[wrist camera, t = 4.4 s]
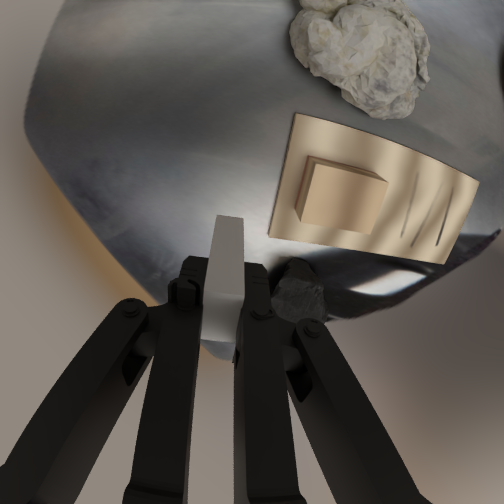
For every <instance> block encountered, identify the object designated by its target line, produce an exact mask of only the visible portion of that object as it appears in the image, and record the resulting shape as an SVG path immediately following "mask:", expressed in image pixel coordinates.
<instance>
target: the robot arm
mask: <svg viewBox="0 0 504 504" xmlns="http://www.w3.org/2000/svg"><path fill="white" fill-rule="evenodd" d="M200 339H206V340H215V341H224V342H234V343H235V340H236V347H235V352H234V356H233V361H232V363H234V504H307V502H306V500H305V498H304V497H303V496H302V495H301V494H300V491H299V486H298V477H297V468H296V459H295V450H294V441H293V433H292V425H291V416H290V408H289V402H288V401H289V400H288V393H287V390H288V392H289V395H290V397H291V399H292V402H293V404H294V407H295V409H296V411H297V414H298V416H299V418H300V421H301V423H302V426H303V428H304V430H305V433H306V435H307V437H308V440H309V442H310V444H311V447H312V449H313V451H314V454H315V456H316V458H317V461H318V463H319V465H320V467H321V469H322V472H323V474H324V477H325V479H326V481H327V483H328V486H329V487H330V490H331V492H332V494H333V496H334V499H335V501H336V503H337V504H432V503H431V502H429V501H428V500H427V499H426V498H424V497H423V496H422V495H421V494H420V493H419V491H418V489H417V487H416V485H415V483H414V481H413V479H412V477H411V476H410V474H409V472H408V470H407V468H406V466H405V464H404V462H403V460H402V458H401V457H400V455H399V453H398V451H397V449H396V448H395V446H394V444H393V442H392V440H391V438H390V436H389V435H388V433H387V431H386V429H385V427H384V426H383V424H382V422H381V420H380V418H379V417H378V415H377V413H376V411H375V410H374V408H373V406H372V404H371V402H370V401H369V399H368V397H367V395H366V394H365V392H364V390H363V389H362V387H361V385H360V383H359V382H358V380H357V378H356V376H355V375H354V373H353V371H352V369H351V368H350V366H349V364H348V363H347V361H346V359H345V358H344V356H343V354H342V353H341V351H340V349H339V347H338V346H337V344H336V342H335V341H334V339H333V337H332V336H331V334H330V332H329V331H328V329H327V327H326V326H325V325H324V324H323V323H322V322H320V321H319V320H316V319H313V318H304V319H301V320H299V321H298V322H297V324H296V323H293V322H290V321H287V320H285V319H282V318H281V317H279V316H278V315H277V313H276V311H275V309H274V308H273V307H272V304H271V297H270V289H269V282H268V274H267V270H266V269H265V267H264V266H263V265H262V264H258V263H249V262H244V226H243V218H237V217H230V216H222V215H217V217H216V223H215V228H214V233H213V239H212V244H211V250H210V256H209V258H204V257H197V256H188V257H187V258H186V259H185V260H184V261H183V264H182V267H181V271H180V275H179V278H175V279H174V280H172V281H170V283H169V284H168V302H167V303H166V304H163V305H160V306H153V307H147V306H146V304H145V303H144V302H143V301H141V300H139V299H135V298H127V299H124V300H121V301H120V302H119V303H117V304H116V305H115V307H114V308H113V309H112V310H111V311H110V313H109V314H108V315H107V316H106V317H105V319H104V320H103V321H102V323H101V324H100V325H99V326H98V327H97V329H96V330H95V331H94V333H93V334H92V335H91V336H90V338H89V339H88V340H87V341H86V343H85V344H84V345H83V346H82V348H81V349H80V350H79V352H78V353H77V354H76V356H75V357H74V358H73V360H72V361H71V362H70V364H69V365H68V366H67V368H66V369H65V370H64V372H63V373H62V375H61V376H60V377H59V379H58V380H57V381H56V383H55V384H54V386H53V387H52V389H51V390H50V391H49V393H48V394H47V396H46V397H45V399H44V400H43V402H42V403H41V405H40V406H39V408H38V409H37V411H36V412H35V414H34V415H33V417H32V418H31V420H30V421H29V423H28V425H27V426H26V428H25V429H24V431H23V433H22V434H21V436H20V438H19V439H18V441H17V443H16V444H15V446H14V448H13V450H12V452H11V453H10V455H9V457H8V458H7V460H6V462H5V464H3V465H2V466H1V467H0V504H74V502H75V501H76V499H77V497H78V495H79V494H80V492H81V490H82V488H83V485H84V484H85V481H86V480H87V478H88V475H89V473H90V472H91V470H92V468H93V466H94V464H95V462H96V460H97V458H98V456H99V454H100V452H101V450H102V448H103V446H104V444H105V442H106V441H107V439H108V437H109V435H110V433H111V431H112V429H113V427H114V426H115V424H116V422H117V420H118V418H119V416H120V414H121V413H122V411H123V409H124V407H125V405H126V403H127V402H128V400H129V398H130V396H131V394H132V393H133V391H134V389H135V387H136V385H137V384H138V382H139V380H140V378H141V377H142V375H143V373H144V371H145V370H146V368H147V366H148V364H149V363H150V361H151V359H152V357H153V356H154V358H153V363H152V367H151V371H150V375H149V380H148V385H147V389H146V394H145V398H144V403H143V408H142V413H141V418H140V424H139V429H138V435H137V440H136V446H135V453H134V459H133V466H132V473H131V479H130V482H129V484H128V485H127V487H126V489H125V492H124V496H123V501H122V504H187V503H188V502H187V500H188V476H189V460H190V445H191V431H192V420H193V409H194V397H195V387H196V377H197V369H198V360H199V359H198V358H199V350H200Z"/></svg>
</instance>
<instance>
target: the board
mask: <svg viewBox="0 0 504 504" xmlns="http://www.w3.org/2000/svg"><path fill="white" fill-rule="evenodd" d="M307 155H309V156H314V157H318V158H322V159H327V160H331V161H335V162H339V163H343V164H347V165H350V166H354V167H358V168H361V169H365V170H368V171H372V172H375V173H376V174H378V175H379V176H381V177H382V178H383V179H385V180H386V181H387V182H389V185H388V188H387V191H386V194H385V197H384V200H383V202H382V205H381V208H380V211H379V213H378V216H377V219H376V221H375V224H374V226H373V229H372V232H371V234H370V235H369V234H364V233H359V232H353V231H348V230H342V229H336V228H331V227H325V226H319V225H313V224H307V223H301V222H300V221H299V218H298V216H297V213H296V211H295V209H294V207H295V203H296V199H297V195H298V191H299V187H300V183H301V179H302V175H303V171H304V167H305V163H306V159H307ZM478 185H479V182H478V181H477V180H475V179H473V178H471V177H469V176H467V175H466V174H464V173H462V172H460V171H458V170H456V169H454V168H452V167H450V166H448V165H446V164H444V163H442V162H439V161H437V160H435V159H433V158H431V157H429V156H426V155H424V154H422V153H419V152H417V151H415V150H412V149H410V148H407V147H405V146H402V145H400V144H397V143H395V142H392V141H389V140H387V139H384V138H381V137H378V136H375V135H372V134H369V133H366V132H363V131H360V130H357V129H354V128H351V127H348V126H344V125H341V124H337V123H334V122H330V121H327V120H323V119H319V118H315V117H311V116H307V115H303V114H298V113H295V116H294V120H293V125H292V130H291V134H290V139H289V144H288V148H287V153H286V157H285V162H284V166H283V171H282V175H281V180H280V184H279V189H278V193H277V198H276V202H275V206H274V211H273V215H272V220H271V224H270V228H269V233H268V235H269V237H270V238H278V239H285V240H292V241H299V242H305V243H312V244H319V245H326V246H333V247H339V248H346V249H352V250H359V251H365V252H372V253H378V254H384V255H390V256H397V257H403V258H409V259H415V260H421V261H427V262H433V263H439V264H444V263H445V261H446V259H447V257H448V255H449V253H450V251H451V249H452V247H453V245H454V243H455V241H456V239H457V237H458V235H459V233H460V230H461V228H462V226H463V224H464V221H465V219H466V217H467V214H468V212H469V209H470V207H471V204H472V202H473V199H474V196H475V194H476V191H477V188H478Z"/></svg>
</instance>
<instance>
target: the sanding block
mask: <svg viewBox="0 0 504 504" xmlns="http://www.w3.org/2000/svg"><path fill="white" fill-rule="evenodd" d="M388 185H389V182H387V181H386V180H385V179H383V178H382V177H381V176H379V175H378V174H376V173H375V172H372V171H368V170H365V169H361V168H358V167H354V166H350V165H347V164H343V163H339V162H335V161H331V160H327V159H322V158H318V157H314V156H309V155H307V159H306V163H305V167H304V171H303V175H302V179H301V183H300V187H299V191H298V195H297V199H296V203H295V207H294V209H295V211H296V213H297V216H298V218H299V221H300V222H301V223H307V224H313V225H319V226H325V227H331V228H336V229H342V230H348V231H353V232H359V233H364V234H369V235H370V234H371V232H372V229H373V226H374V224H375V221H376V219H377V216H378V213H379V211H380V208H381V205H382V202H383V200H384V197H385V194H386V191H387V188H388Z"/></svg>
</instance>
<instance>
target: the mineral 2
mask: <svg viewBox="0 0 504 504" xmlns="http://www.w3.org/2000/svg"><path fill="white" fill-rule="evenodd" d="M299 2H300V5H301V6H302V7H303V9H302V10H301V11H300V12H299V13H298V14H297V15H296V18H295V20H294V21H293V22H292V23H291V28H290V31H289V34H290V36H291V40H290V41H291V45H292V47H293V49H294V54H295V56H296V58H297V59H298V60H299V61H300V62H301V63H302V64H303V66H304V67H305V68H309V67H310V72H311V73H312V74H313V76H321V77H323V78H325V79H327V80H328V81H330V82H331V83H332V84H333V85H336V86H338V87H340V88H341V93H342V97H343V98H344V99H345V100H346V101H347V102H349V103H351V104H353V105H354V106H356V107H359V108H360V109H362V110H363V111H365V112H366V113H367V114H368V115H369V116H370V117H372V118H380V119H383V120H385V119H388V118H391V119H398V118H404V117H405V116H407V115H409V114H410V113H412V111H413V109H414V106H415V99H416V98H417V97H419V94H418V92H419V91H424V89H425V85H426V84H427V83H428V81H429V79H430V78H429V76H428V72H427V67H426V61H427V57H428V55H429V50H430V44H429V42H428V38H427V35H426V33H425V32H424V28H423V27H422V25H421V24H420V22H419V21H418V20H417V19H416V17H415V16H414V15H413V14H412V13H411V12H410V10H409V9H408V7H407V6H406V4H405V3H404V2H403V1H402V0H300V1H299Z"/></svg>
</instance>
